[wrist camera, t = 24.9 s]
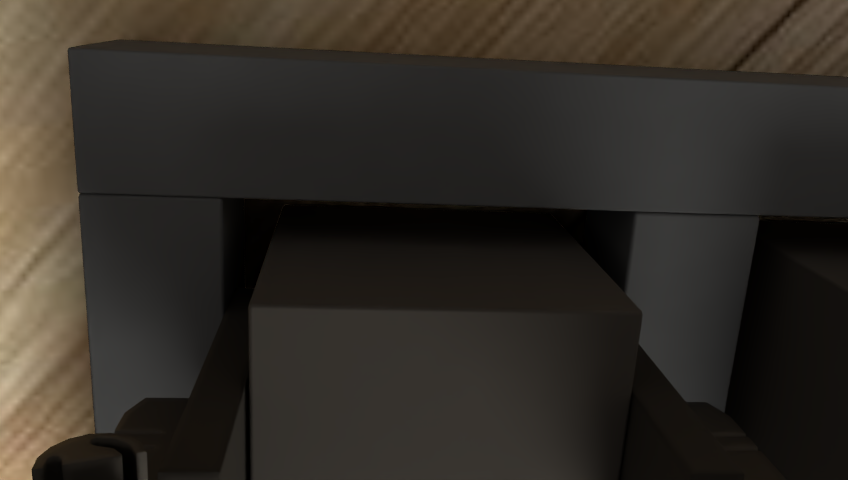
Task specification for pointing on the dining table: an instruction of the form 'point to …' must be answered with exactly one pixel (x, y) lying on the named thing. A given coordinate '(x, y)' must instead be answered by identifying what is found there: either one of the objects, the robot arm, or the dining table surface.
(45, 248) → the dining table surface
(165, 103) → the base frame
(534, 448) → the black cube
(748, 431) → the dark grey cube
